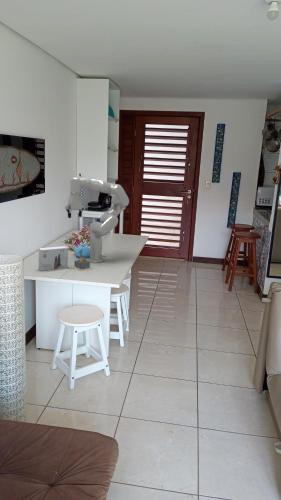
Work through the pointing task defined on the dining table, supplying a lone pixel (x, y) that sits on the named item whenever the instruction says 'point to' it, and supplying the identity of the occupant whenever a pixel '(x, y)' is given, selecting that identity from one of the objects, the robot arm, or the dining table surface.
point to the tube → (82, 265)
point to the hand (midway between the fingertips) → (74, 217)
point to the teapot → (82, 251)
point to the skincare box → (53, 258)
